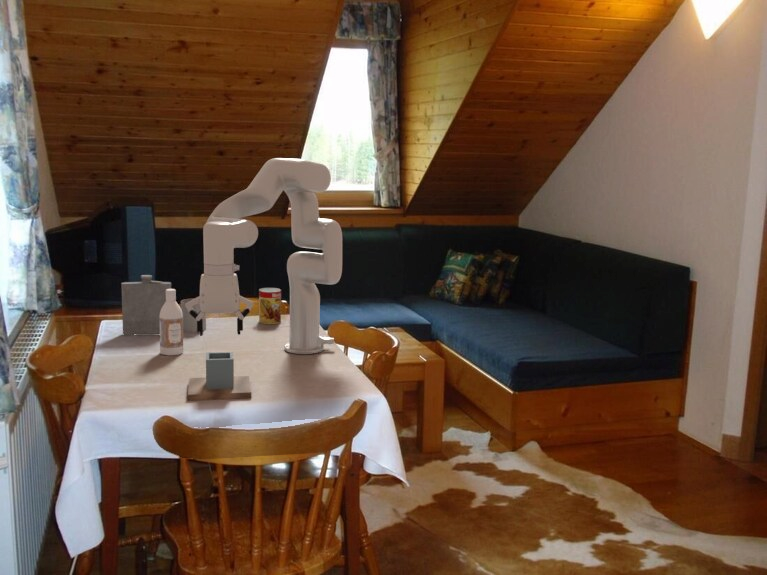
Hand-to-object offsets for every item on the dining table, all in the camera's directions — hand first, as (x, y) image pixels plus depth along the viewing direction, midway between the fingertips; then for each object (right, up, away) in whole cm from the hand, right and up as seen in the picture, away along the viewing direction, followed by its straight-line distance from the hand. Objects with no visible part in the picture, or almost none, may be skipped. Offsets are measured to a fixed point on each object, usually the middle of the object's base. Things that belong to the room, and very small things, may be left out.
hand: (220, 333), depth 200 cm
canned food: (+1, -1, +80) cm, 80 cm away
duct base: (-1, -15, +2) cm, 15 cm away
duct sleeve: (-1, -14, +2) cm, 14 cm away
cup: (-23, -3, +66) cm, 70 cm away
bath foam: (-23, -8, +36) cm, 43 cm away
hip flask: (-37, -4, +58) cm, 69 cm away
